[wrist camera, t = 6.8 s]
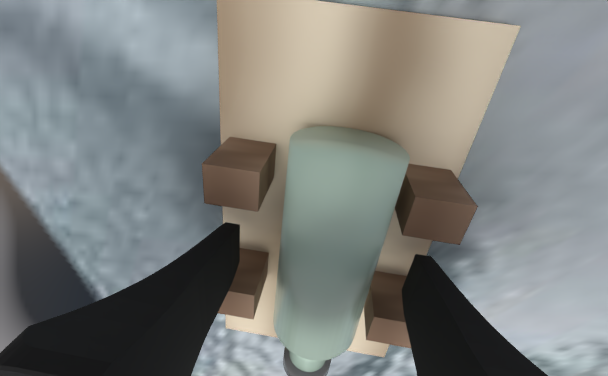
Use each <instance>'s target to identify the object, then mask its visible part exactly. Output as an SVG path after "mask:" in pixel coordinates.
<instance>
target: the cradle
mask: <svg viewBox="0 0 608 376" xmlns="http://www.w3.org/2000/svg"><path fill="white" fill-rule="evenodd" d="M217 23H218V60H219V96H220V133H221V146H220V147H219V148H218V149H217V150H216V151H214V152H213V153H212V154H211V155H210V156H209V157H208V158H207V159H206V160H205V161H204V162H203V163H202V172H203V188H204V203H206V204H212V205H218V206H223V224H224V223H225V222H228V223H234V224H240V262H239V265H238V268H237V271H236V274H235V277H234V279H233V282H232V285H231V287H230V289H229V291H228V293H227V295H226V297H225V299H224V301H223V303H222V305H221V307H220V309H219V311H218V313H220V314H225V315H226V328H228V329H233V330H239V331H244V332H250V333H255V334H261V335H266V336H271V337H277V334H276V332H275V329H274V324H273V314H274V304H275V293H276V282H277V271H278V260H279V250H280V239H281V228H282V217H283V207H284V196H285V185H286V174H287V164H288V153H289V142H290V137H291V135H292V134H293V133H295V132H296V131H298V130H301V129H304V128H309V127H316V126H337V127H346V128H353V129H358V130H363V131H367V132H370V133H374V134H377V135H380V136H382V137H385V138H387V139H390V140H392V141H393V142H395V143H397V144H399V145H400V146H401V147H403V148H404V149H405V150H406V151H407V153H408V154H409V157H410V161H409V164H408V167H407V170H406V173H405V177H404V180H403V183H402V186H401V189H400V193H399V196H398V199H397V202H396V205H395V209H394V212H393V215H392V218H391V221H390V225H389V228H388V231H387V234H386V237H385V241H384V244H383V247H382V250H381V253H380V257H379V260H378V263H377V266H376V270H375V273H374V276H373V279H372V282H371V286H370V289H369V292H368V295H367V298H366V302H365V305H364V308H363V311H362V314H361V318H360V321H359V324H358V327H357V330H356V334H355V337H354V339H353V342H352V344H351V345H350V347H349V348H348V349H347V351H353V352H358V353H364V354H369V355H375V356H380V357H384V356H385V354H386V352H387V349H388V347H389V344H390V345H396V346H401V347H407V348H411V344H410V340H409V336H408V331H407V327H406V322H405V317H404V311H403V302H402V287H403V285H404V282H405V280H406V277H407V274H408V272H409V269H410V267H411V264H412V262H413V259H414V256H415V254H419V255H425V256H426V255H427V252H428V250H429V247H430V245H431V243H432V240H433V241H439V242H446V243H452V244H458V245H460V243H461V241H462V239H463V237H464V234H465V232H466V230H467V228H468V226H469V224H470V222H471V220H472V218H473V215H474V213H475V211H476V209H477V207H478V206H477V205H476V204H475V202H474V201H473V199H472V198H471V197H470V195H469V194H468V193H467V191H466V190H465V189H464V187H463V186H462V184H461V183H460V182H459V180H458V177H459V175H460V172H461V170H462V168H463V165H464V163H465V160H466V158H467V155H468V153H469V151H470V148H471V146H472V143H473V141H474V138H475V136H476V134H477V131H478V129H479V126H480V124H481V122H482V119H483V117H484V114H485V112H486V109H487V107H488V105H489V102H490V100H491V97H492V95H493V92H494V90H495V88H496V85H497V83H498V80H499V78H500V76H501V73H502V71H503V68H504V66H505V63H506V61H507V59H508V56H509V54H510V51H511V49H512V46H513V44H514V42H515V39H516V37H517V34H518V32H519V29H520V27H521V26H517V25H509V24H501V23H493V22H485V21H477V20H469V19H461V18H453V17H445V16H437V15H429V14H421V13H413V12H404V11H396V10H388V9H380V8H372V7H364V6H356V5H348V4H340V3H332V2H324V1H316V0H217ZM277 338H278V337H277Z"/></svg>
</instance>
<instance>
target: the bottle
mask: <svg viewBox="0 0 608 376" xmlns="http://www.w3.org/2000/svg"><path fill="white" fill-rule="evenodd" d="M409 161H410V157H409V154H408V153H407V151H406V150H405V149H404V148H403V147H401V146H400V145H399V144H397V143H395V142H393V141H392V140H390V139H387V138H385V137H382V136H380V135H377V134H374V133H370V132H367V131H363V130H358V129H353V128H346V127H337V126H316V127H309V128H304V129H301V130H298V131H296V132H295V133H293V134H292V135H291V137H290V142H289V153H288V164H287V174H286V185H285V196H284V207H283V217H282V228H281V239H280V250H279V260H278V271H277V282H276V293H275V304H274V314H273V324H274V329H275V332H276V334H277V337H278V338H279V340H280V341H281V343H282V344H283V345H284V346H285V350H284V358H283V365H284V369H285V371H286V373H287V375H288V376H326V375H327V373H328V370H329V366H330V363H331V359H333V358H335V357H337V356H339V355H341V354H342V353H344V352H345V351H346V350H347V349H348V348H349V347H350V345H351V344H352V342H353V339H354V337H355V334H356V330H357V327H358V324H359V321H360V318H361V314H362V311H363V308H364V305H365V302H366V298H367V295H368V292H369V289H370V286H371V282H372V279H373V276H374V273H375V270H376V266H377V263H378V260H379V257H380V253H381V250H382V247H383V244H384V241H385V237H386V234H387V231H388V228H389V225H390V221H391V218H392V215H393V212H394V209H395V205H396V202H397V199H398V196H399V193H400V189H401V186H402V183H403V180H404V177H405V173H406V170H407V167H408V164H409Z"/></svg>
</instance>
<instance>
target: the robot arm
mask: <svg viewBox="0 0 608 376" xmlns="http://www.w3.org/2000/svg"><path fill="white" fill-rule="evenodd" d="M239 262H240V224H234V223H228V222H225V223H224V224H222V225H221V226H220V227H218V228H217V229H216V230H215V231H213V232H212V233H211V234H210V235H208V236H207V237H206V238H205V239H203V240H202V241H201V242H199V243H198V244H197V245H195V246H194V247H193V248H191V249H190V250H189V251H187V252H186V253H185V254H183V255H182V256H180V257H179V258H177V259H176V260H174V261H173V262H171V263H170V264H168V265H167V266H165V267H164V268H162V269H160V270H159V271H157V272H155V273H154V274H152V275H150V276H148V277H147V278H145V279H143V280H141V281H139V282H137V283H135V284H133V285H131V286H129V287H127V288H125V289H123V290H121V291H119V292H117V293H115V294H113V295H111V296H108V297H106V298H104V299H101V300H99V301H97V302H94V303H92V304H90V305H87V306H84V307H82V308H80V309H77V310H74V311H71V312H69V313H66V314H63V315H60V316H57V317H54V318H51V319H49V320H46V321H43V322H40V323H37V324H34V325H31V326H29V327H28V328H26V329H25V330H24V331H23V332H22V333H21V334H20V335H19V336H18V337H17V338H16V339H14V341H12V342H11V343H10V344H9V345H8V346H7V347H6V348H5V349H4V350H3V351H2V352H1V353H0V376H191V374H192V371H193V368H194V366H195V363H196V360H197V358H198V355H199V353H200V350H201V347H202V345H203V342H204V340H205V338H206V336H207V333H208V331H209V329H210V327H211V325H212V323H213V321H214V319H215V317H216V315H217V313H218V311H219V309H220V307H221V305H222V303H223V301H224V299H225V297H226V295H227V293H228V291H229V289H230V287H231V285H232V282H233V279H234V277H235V274H236V271H237V268H238V265H239ZM402 302H403V311H404V317H405V322H406V327H407V331H408V336H409V340H410V344H411V349H412V353H413V357H414V362H415V366H416V371H417V376H548V375H546V374H545V373H544V372H543V371H542V370H540V369H539V368H538V367H537V366H536V365H534V364H533V363H532V362H531V361H530V360H528V359H527V358H526V357H525V356H524V355H523V354H521V353H520V352H519V351H518V350H517V349H516V348H515V347H514V346H513V345H512V344H510V343H509V342H508V341H507V340H506V339H505V338H504V337H503V336H502V335H501V334H500V333H499V332H498V331H497V330H496V329H495V328H494V327H493V326H492V325H491V324H490V323H489V322H488V321H487V320H486V319H485V318H484V317H483V316H482V315H481V314H480V313H479V312H478V311H477V310H476V309H475V308H474V306H473V305H472V304H471V303H470V302H469V301H468V300H467V299H466V297H465V296H464V295H463V294H462V293H461V292H460V291H459V289H458V288H457V287H456V286H455V285H454V283H453V282H452V281H451V280H450V279H449V277H448V276H447V275H446V274H445V273H444V271H443V270H442V269H441V268H440V266H439V265H438V264H437V263H436V262H435V261H434V259H433V258H432V257H431V256H425V255H419V254H415V256H414V259H413V262H412V264H411V267H410V269H409V272H408V274H407V277H406V280H405V282H404V285H403V287H402Z"/></svg>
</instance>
